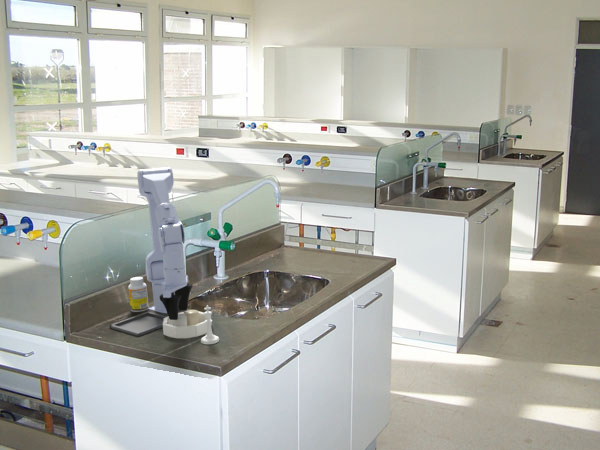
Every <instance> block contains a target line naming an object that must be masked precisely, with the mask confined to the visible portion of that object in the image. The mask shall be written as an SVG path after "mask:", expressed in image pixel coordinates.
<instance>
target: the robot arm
mask: <svg viewBox="0 0 600 450" xmlns="http://www.w3.org/2000/svg"><path fill="white" fill-rule="evenodd" d="M172 169H173V168H171V167H170V166H167V167H158V168H157V167H155V168H145V169H142V168H140V169H138V170H137V185H138V192H139V195H140V196H141V197H144V198H146V200H147V204H148V209H149V210H148V211H149V220H150V229H151V230H150V231H151V238H152V240H151V241H152V247H153V250H151V252H150V253H148V254H147V255H146V257H145V259H144V260H145V261H144V262H145V276H146V280H147V282H150V283H151V285H152V297H153V305H152V306H151V307H149V308H148V309H147V310H150V311H153V312H156V313H157V312H158V313H162V314H167V317H168V316H169V319H170V320H177V319H178V313H179V311H180V312H185V311H188V307H189V299H190V293H191V291H192V288H193V283H189V276H188V275H187V274H186V264H185V253H184V244H185V242H186V241H185V238H186V236H185V235H186V234H185V228H184V225H183V223H182V222H181V220H180V219H179V217H178V213H177V210H176V206H175V205H173V204H172V203H170V195H169V194H170V193H171V192H172V189H173V186H174V183H175V182H174V172H173V170H172Z"/></svg>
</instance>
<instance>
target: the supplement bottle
mask: <svg viewBox="0 0 600 450" xmlns="http://www.w3.org/2000/svg"><path fill="white" fill-rule="evenodd" d="M129 283H130V284H129V285H128V287H127V289H128V300H129V299H130V300H129V307H130V306H131V309H130V311H131V312H133V313H138V312H139V313H140V312H145V311H147V310H149V309H148V308H150V305H149V295H148V288H147V287H148V286H147V284H146V283H145V282H144V277H143V276H135V277H131V278H130V280H129Z"/></svg>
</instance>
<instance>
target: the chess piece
mask: <svg viewBox="0 0 600 450" xmlns="http://www.w3.org/2000/svg"><path fill="white" fill-rule="evenodd" d="M204 310H205V311H204V312H203V313H204V315H205V317H206V320H205V323H207V333H206V334H204V335H205V336H203V337H201V339H200V343H201V344H202V345H213V344H217V343H219V342H220V337H219V336H217V335H215V334H213V329H212V322H213V319H212V311H210V310H212V307H210V306H209V305H208V304H207V305H206V307H204ZM210 318H211V319H210Z"/></svg>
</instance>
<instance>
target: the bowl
mask: <svg viewBox="0 0 600 450" xmlns="http://www.w3.org/2000/svg"><path fill="white" fill-rule="evenodd" d="M197 311H198V314H199V324H196V325H191V326H179V327H177V326H173V323H172V320H170V319H169V316H168V315H167V317H166V318H164V321H163V327H162V331H163V335H164V336H166V337H168V338H173V339H192V338H197V337H200V336H203V335H206V333H207V323H205V320H206V317H205V315H204V312H202V311H199V310H197ZM184 312H185V311H180V312H178V315H179V314H184ZM210 319H211V320H212V317H211V318H210Z"/></svg>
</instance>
